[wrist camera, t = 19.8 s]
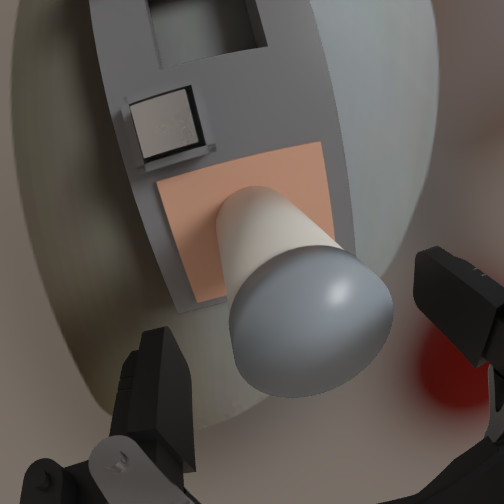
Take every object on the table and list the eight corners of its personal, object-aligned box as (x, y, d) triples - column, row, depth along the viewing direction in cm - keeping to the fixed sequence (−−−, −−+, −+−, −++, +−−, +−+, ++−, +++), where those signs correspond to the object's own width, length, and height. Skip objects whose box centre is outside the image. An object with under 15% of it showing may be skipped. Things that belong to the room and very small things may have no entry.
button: (143, 109, 14) (130, 106, 11) (187, 96, 14) (184, 88, 11) (154, 152, 15) (144, 158, 12) (198, 139, 15) (198, 142, 12)
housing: (94, -35, 11) (74, -63, 7) (267, -71, 11) (283, -104, 7) (180, 294, 21) (177, 333, 17) (341, 249, 22) (370, 277, 18)
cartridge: (201, 201, 16) (204, 307, 7) (282, 171, 16) (386, 236, 7) (231, 274, 18) (264, 414, 9) (304, 245, 18) (394, 359, 9)
